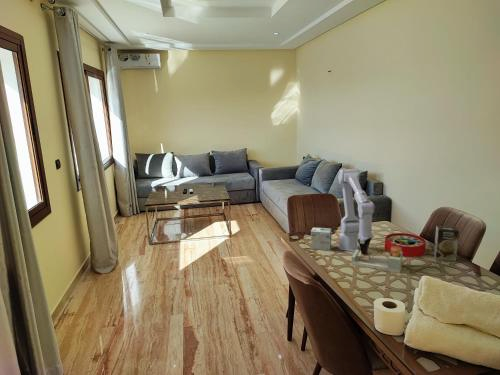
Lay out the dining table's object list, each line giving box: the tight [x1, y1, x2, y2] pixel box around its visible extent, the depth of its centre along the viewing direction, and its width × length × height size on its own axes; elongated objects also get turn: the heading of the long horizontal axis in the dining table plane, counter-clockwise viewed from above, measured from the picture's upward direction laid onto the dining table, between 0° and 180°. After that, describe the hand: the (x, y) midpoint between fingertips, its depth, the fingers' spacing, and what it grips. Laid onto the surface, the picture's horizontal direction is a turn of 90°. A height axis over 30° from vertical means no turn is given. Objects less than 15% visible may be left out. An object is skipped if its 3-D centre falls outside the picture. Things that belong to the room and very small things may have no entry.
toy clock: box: [384, 232, 427, 258], centre depth 184 cm, size 20×6×20 cm
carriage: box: [357, 247, 372, 261], centre depth 170 cm, size 5×8×7 cm, turn 151°
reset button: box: [391, 246, 402, 257], centre depth 163 cm, size 5×5×6 cm
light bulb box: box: [310, 227, 332, 252], centre depth 190 cm, size 11×7×11 cm, turn 71°
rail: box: [351, 249, 403, 274], centre depth 168 cm, size 22×10×6 cm, turn 61°
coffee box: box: [433, 225, 460, 262], centre depth 170 cm, size 9×6×16 cm
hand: (364, 252), depth 170 cm, fingers closed on carriage, 3 cm apart
